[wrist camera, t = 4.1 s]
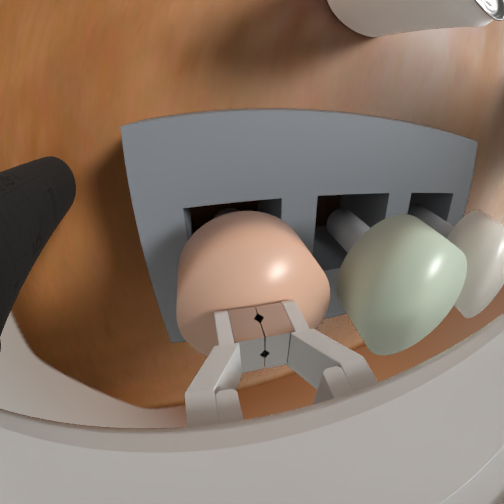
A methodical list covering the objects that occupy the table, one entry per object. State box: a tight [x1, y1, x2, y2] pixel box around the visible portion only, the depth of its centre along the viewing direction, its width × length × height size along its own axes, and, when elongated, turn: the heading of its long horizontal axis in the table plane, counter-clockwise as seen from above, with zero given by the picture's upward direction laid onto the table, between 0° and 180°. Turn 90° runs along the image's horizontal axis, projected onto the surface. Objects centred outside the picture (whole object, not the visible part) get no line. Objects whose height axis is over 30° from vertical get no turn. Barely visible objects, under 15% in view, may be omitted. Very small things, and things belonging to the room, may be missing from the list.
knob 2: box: [407, 204, 504, 318], centre depth 14 cm, size 6×6×8 cm
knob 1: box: [176, 208, 330, 357], centre depth 14 cm, size 6×6×8 cm
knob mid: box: [326, 208, 467, 355], centre depth 13 cm, size 6×6×8 cm
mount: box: [120, 108, 478, 343], centre depth 18 cm, size 24×14×6 cm, turn 91°
